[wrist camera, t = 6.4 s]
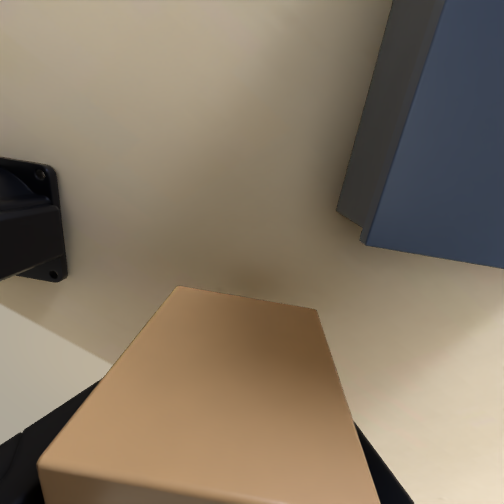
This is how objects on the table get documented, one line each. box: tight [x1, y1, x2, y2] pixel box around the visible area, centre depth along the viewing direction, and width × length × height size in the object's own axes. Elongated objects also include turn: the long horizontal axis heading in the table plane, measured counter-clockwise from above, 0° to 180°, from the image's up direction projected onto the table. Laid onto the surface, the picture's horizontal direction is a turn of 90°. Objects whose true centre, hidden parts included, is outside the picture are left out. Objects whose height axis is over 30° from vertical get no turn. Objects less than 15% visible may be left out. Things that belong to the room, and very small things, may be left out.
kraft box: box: [36, 286, 380, 504], centre depth 6 cm, size 5×5×5 cm
